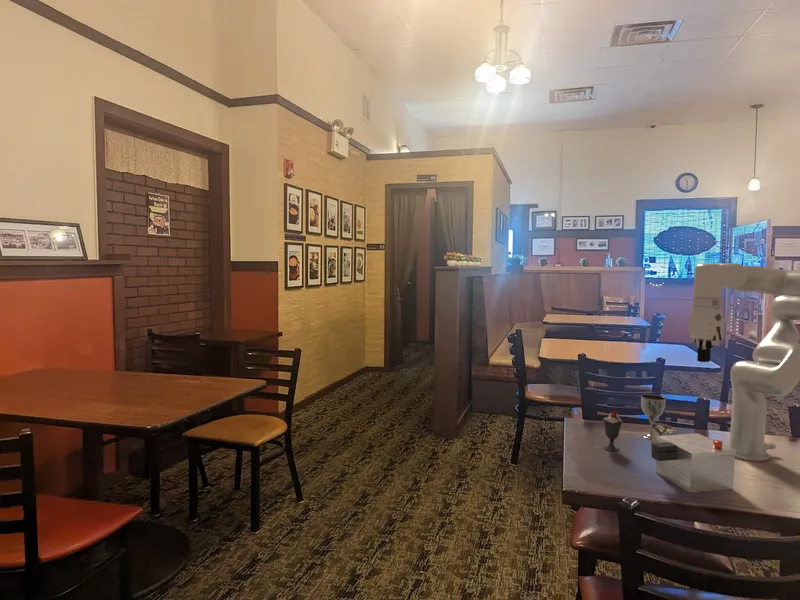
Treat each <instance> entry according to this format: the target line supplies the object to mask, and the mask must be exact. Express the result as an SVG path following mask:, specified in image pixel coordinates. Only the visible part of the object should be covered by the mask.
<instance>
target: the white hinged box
mask: <svg viewBox="0 0 800 600" xmlns="http://www.w3.org/2000/svg"><path fill="white" fill-rule="evenodd" d="M658 443H661V442H659V441H658ZM651 458H652V459H655V460H656V464H655V473H657V474H658V475H660V477H662V478H665V479H666V480H668V481H670V483H672V484H675V485H676V486H678V487H679V488H681V489H683V490H685V491H686V492H687V493H690V494H691V492H693V493H703V492H702V491H704V492H712V491H713V492H714V491H726V490H734V477H735V462H736V461H735V460H736V459H735V458H736V457H735V455H722V456H709V457H696V458H691V457H689V456H687V455H685V454H683V453H681V452H679V451H677V450H676V451H663V452H658V451H656V450H654V449H652V452H651Z"/></svg>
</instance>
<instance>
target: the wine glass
mask: <svg viewBox="0 0 800 600" xmlns="http://www.w3.org/2000/svg"><path fill="white" fill-rule="evenodd" d="M640 396H641V397H640V403H641V405H640V406H641V409H642V412H643V413H644V414H645V416H646V417H647V419H648V421H649V424H650V426H649V427H650V429H649V433H642V435H641V434H640V437H641V436H642V437H641V438H643V437H644V438H643V439H645V438H647V439H646V440H649V439H650V440H649V441H652V428H651V426H652V422H654V423H655V421H656V420H657V419H658V418H659V417H660V416H662V414H663V413H664V410H665V407H666V397H665V396H663V395H659V394H654V393H652V394H651V393H644V394H641V395H640Z"/></svg>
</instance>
